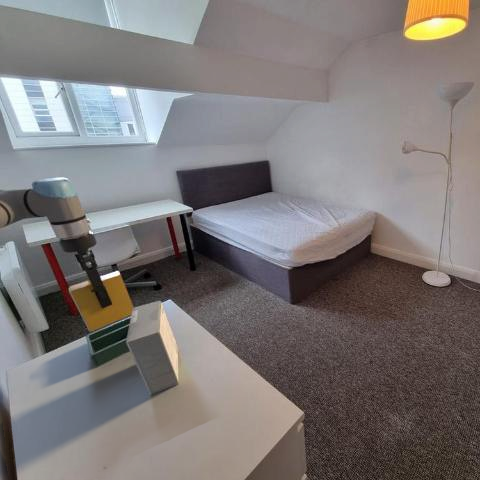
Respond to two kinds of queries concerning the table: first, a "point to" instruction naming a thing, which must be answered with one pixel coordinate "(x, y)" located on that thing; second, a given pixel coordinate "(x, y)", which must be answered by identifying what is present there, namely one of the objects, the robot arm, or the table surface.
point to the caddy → (109, 342)
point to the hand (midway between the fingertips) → (105, 303)
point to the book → (91, 306)
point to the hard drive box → (153, 347)
